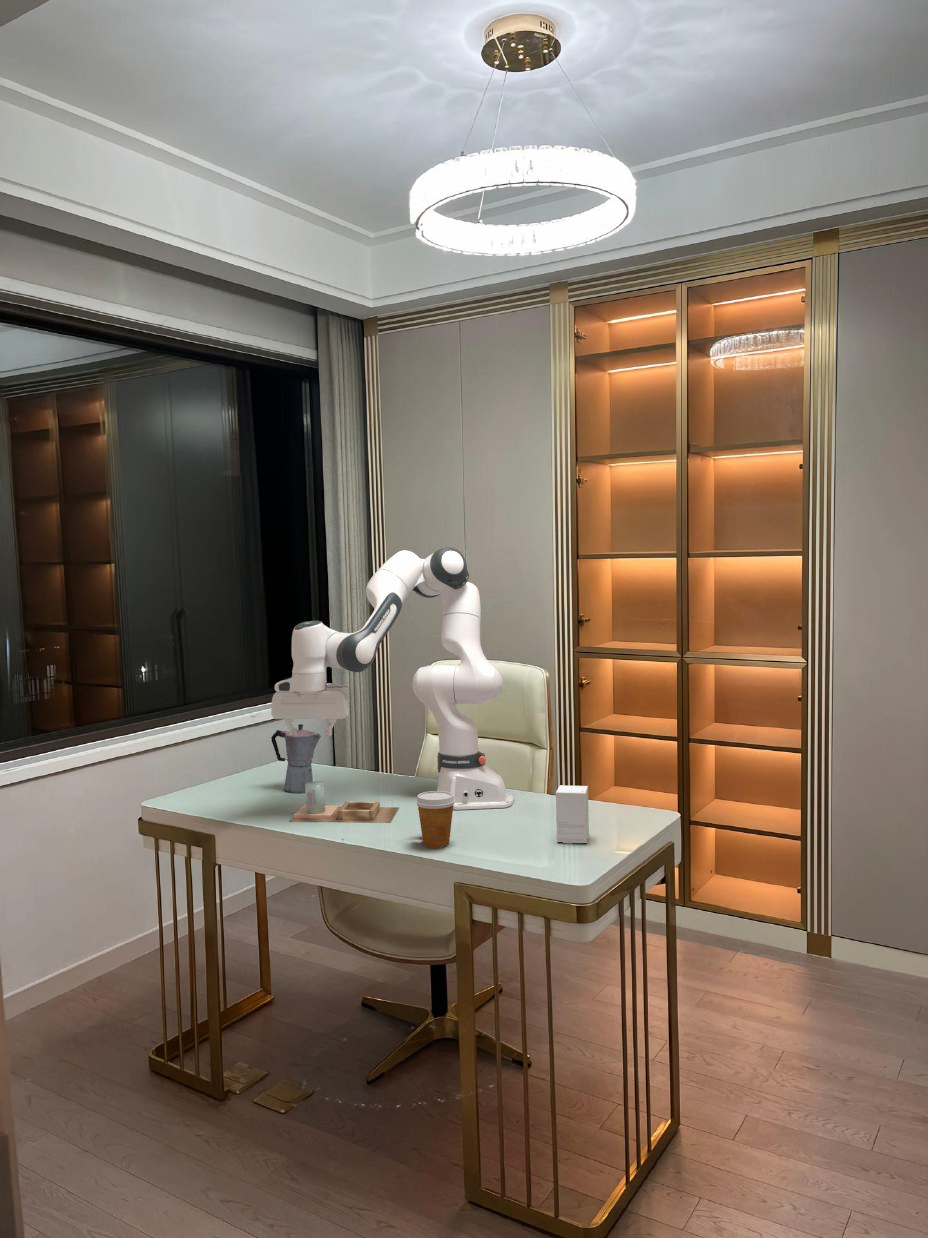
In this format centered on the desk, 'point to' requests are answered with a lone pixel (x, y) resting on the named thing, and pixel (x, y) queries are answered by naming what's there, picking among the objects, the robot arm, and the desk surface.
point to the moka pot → (297, 757)
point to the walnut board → (357, 814)
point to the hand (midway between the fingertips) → (311, 735)
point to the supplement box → (572, 814)
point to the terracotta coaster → (328, 813)
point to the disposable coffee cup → (435, 817)
